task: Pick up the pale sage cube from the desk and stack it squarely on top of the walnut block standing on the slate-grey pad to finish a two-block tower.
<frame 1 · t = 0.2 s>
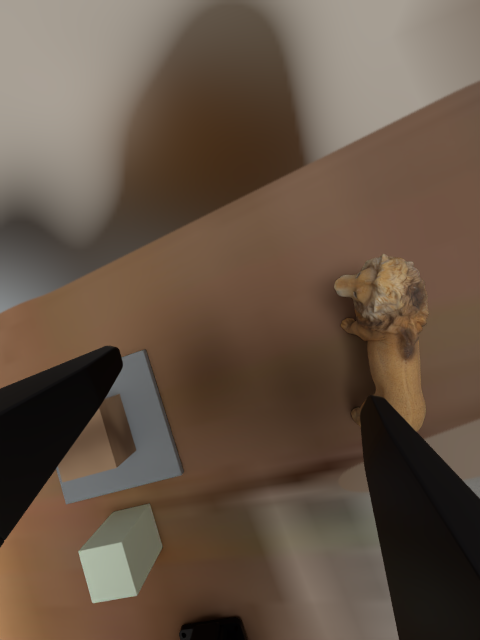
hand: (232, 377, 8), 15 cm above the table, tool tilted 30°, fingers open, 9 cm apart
slate pad: (106, 427, 26), on the table
sage cube: (137, 528, 25), on the table
lion figurine: (359, 351, 22), on the table
walnut block: (103, 429, 25), resting on slate pad
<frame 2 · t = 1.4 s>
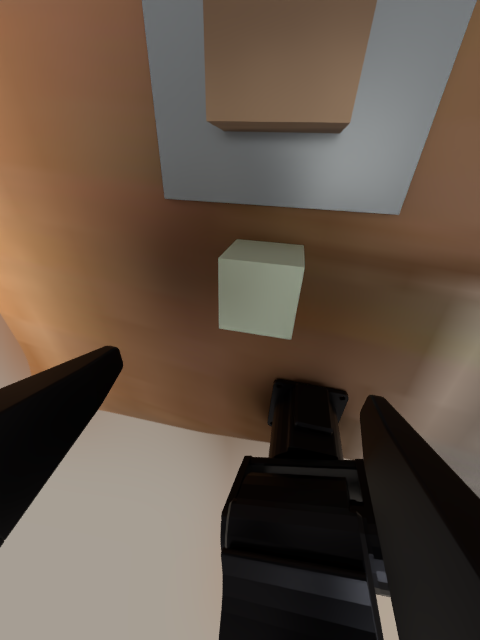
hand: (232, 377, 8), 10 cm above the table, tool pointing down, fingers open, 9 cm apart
slate pad: (288, 53, 11), on the table
sage cube: (266, 273, 17), on the table
walnut block: (288, 49, 11), resting on slate pad
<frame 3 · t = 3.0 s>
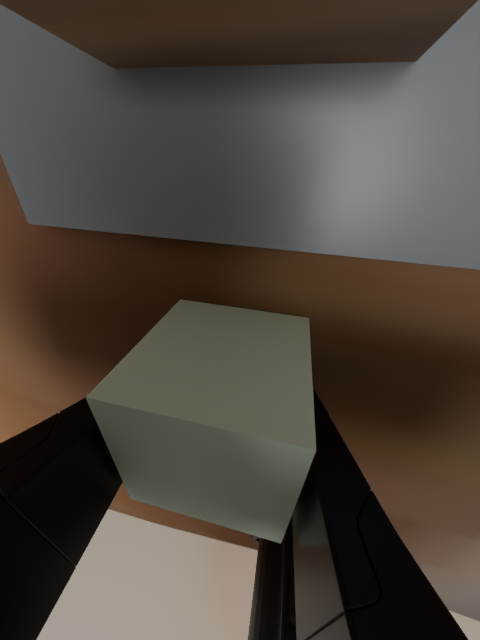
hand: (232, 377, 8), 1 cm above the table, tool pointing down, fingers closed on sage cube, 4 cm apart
sage cube: (239, 358, 9), on the table, touching gripper
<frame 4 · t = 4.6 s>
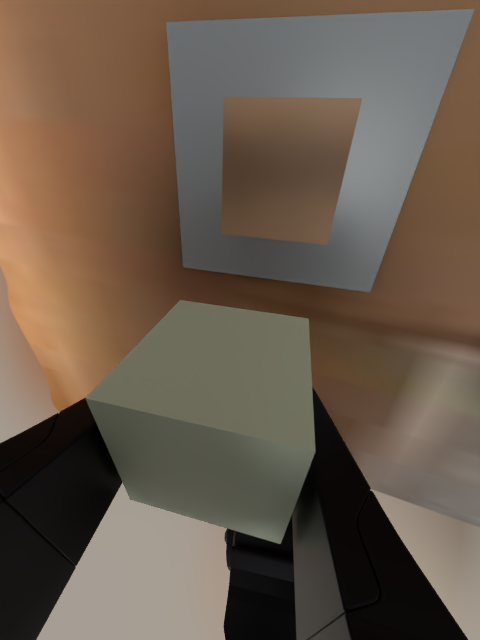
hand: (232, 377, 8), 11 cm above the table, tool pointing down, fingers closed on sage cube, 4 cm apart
slate pad: (284, 178, 15), on the table
sage cube: (238, 358, 9), point 10 cm above the table, touching gripper
walnut block: (283, 178, 14), resting on slate pad
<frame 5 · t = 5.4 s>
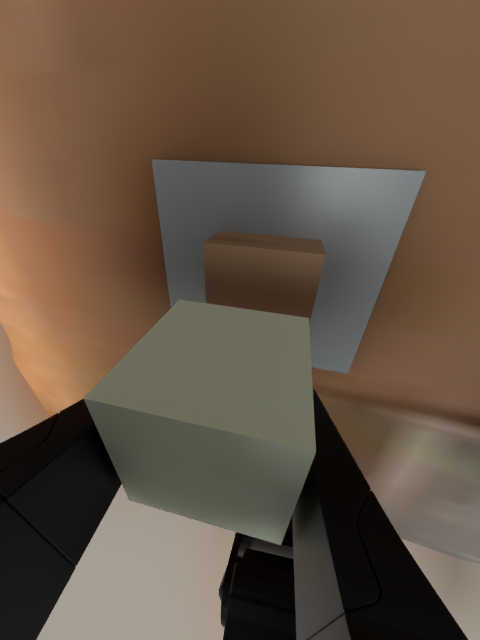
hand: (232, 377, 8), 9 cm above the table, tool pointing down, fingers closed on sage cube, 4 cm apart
slate pad: (265, 279, 16), on the table
sage cube: (238, 358, 9), point 8 cm above the table, touching gripper
walnut block: (264, 282, 16), resting on slate pad
when the fingers open (6 cm above the table, at t = 6.2 s): sage cube drops 1 cm, resting on walnut block.
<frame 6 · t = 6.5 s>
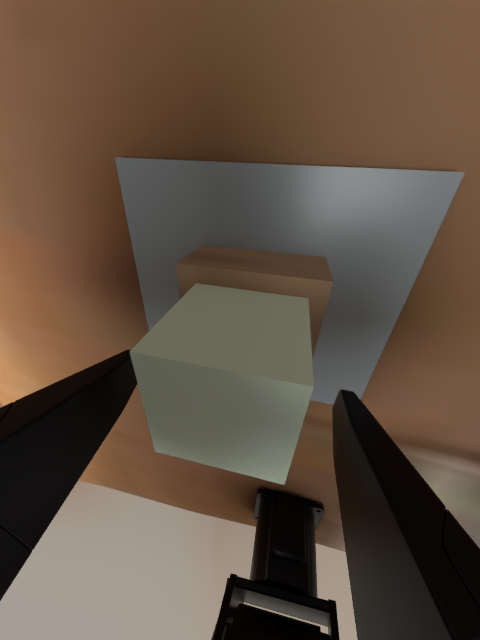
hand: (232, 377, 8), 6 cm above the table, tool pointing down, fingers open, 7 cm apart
slate pad: (258, 301, 13), on the table
sage cube: (246, 336, 11), point 3 cm above the table, touching walnut block
walnut block: (256, 305, 13), resting on slate pad, touching sage cube
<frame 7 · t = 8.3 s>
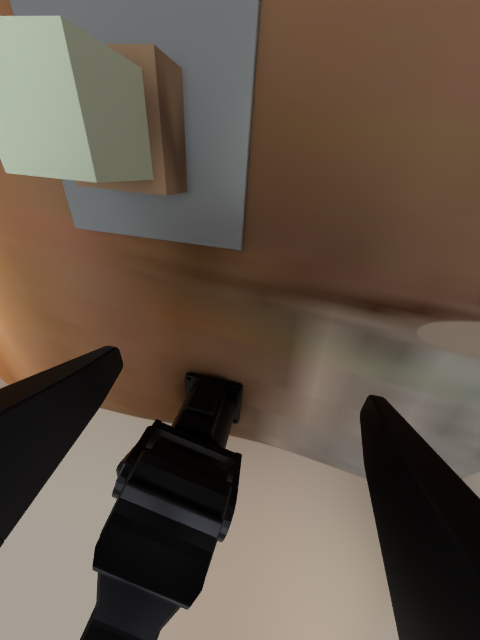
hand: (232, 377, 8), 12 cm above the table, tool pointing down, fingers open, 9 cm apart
slate pad: (145, 134, 16), on the table
sage cube: (109, 126, 13), point 3 cm above the table, touching walnut block
walnut block: (140, 133, 15), resting on slate pad, touching sage cube
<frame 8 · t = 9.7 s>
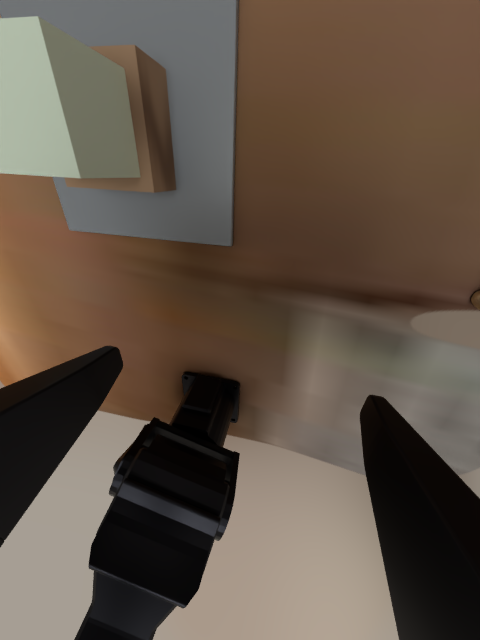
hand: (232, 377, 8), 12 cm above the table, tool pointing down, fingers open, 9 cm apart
slate pad: (133, 135, 16), on the table
sage cube: (95, 127, 13), point 3 cm above the table, touching walnut block
walnut block: (128, 134, 15), resting on slate pad, touching sage cube
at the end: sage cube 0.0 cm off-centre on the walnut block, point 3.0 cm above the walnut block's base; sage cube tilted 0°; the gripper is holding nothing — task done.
